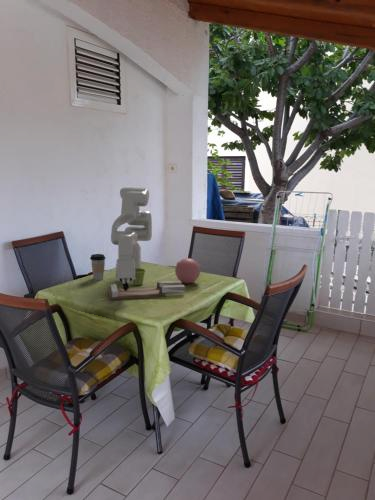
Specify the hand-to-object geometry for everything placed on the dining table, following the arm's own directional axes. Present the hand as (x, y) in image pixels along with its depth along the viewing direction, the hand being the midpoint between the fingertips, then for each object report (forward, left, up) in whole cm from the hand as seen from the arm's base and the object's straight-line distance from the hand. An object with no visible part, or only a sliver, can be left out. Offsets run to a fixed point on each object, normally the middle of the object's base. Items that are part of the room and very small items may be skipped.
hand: (125, 290), depth 219 cm
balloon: (-25, +40, -5) cm, 47 cm away
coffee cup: (-40, -13, -5) cm, 42 cm away
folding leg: (-4, -6, -3) cm, 8 cm away
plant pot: (-25, +10, -5) cm, 27 cm away
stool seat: (-6, +12, -5) cm, 14 cm away
